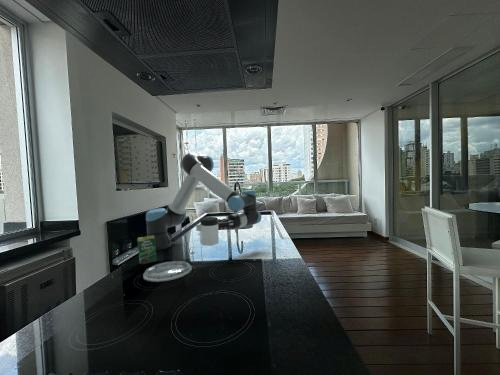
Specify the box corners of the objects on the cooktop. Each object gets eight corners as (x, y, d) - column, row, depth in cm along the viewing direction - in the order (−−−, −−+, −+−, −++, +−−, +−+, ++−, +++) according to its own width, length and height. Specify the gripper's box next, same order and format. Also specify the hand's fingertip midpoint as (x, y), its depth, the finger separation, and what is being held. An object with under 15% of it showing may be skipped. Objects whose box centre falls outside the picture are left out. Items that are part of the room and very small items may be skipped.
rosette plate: (137, 273, 113) (136, 269, 113) (179, 262, 126) (179, 257, 126) (153, 286, 97) (152, 281, 97) (199, 271, 110) (199, 266, 110)
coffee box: (139, 265, 125) (137, 238, 125) (139, 263, 128) (137, 237, 127) (156, 261, 129) (154, 235, 128) (156, 260, 131) (154, 234, 131)
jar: (210, 239, 129) (210, 215, 128) (222, 242, 124) (221, 218, 123) (196, 243, 122) (196, 218, 121) (208, 247, 117) (207, 221, 116)
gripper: (245, 229, 133) (205, 237, 117) (229, 226, 143) (191, 233, 128) (244, 214, 132) (204, 221, 117) (228, 212, 143) (190, 219, 128)
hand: (197, 228), depth 123 cm, fingers closed on jar
